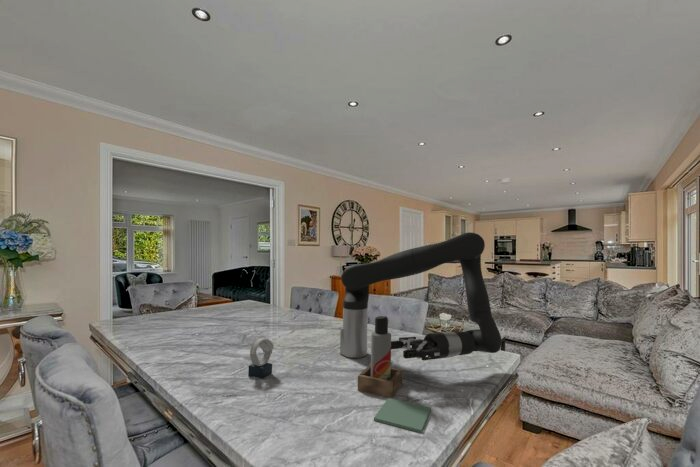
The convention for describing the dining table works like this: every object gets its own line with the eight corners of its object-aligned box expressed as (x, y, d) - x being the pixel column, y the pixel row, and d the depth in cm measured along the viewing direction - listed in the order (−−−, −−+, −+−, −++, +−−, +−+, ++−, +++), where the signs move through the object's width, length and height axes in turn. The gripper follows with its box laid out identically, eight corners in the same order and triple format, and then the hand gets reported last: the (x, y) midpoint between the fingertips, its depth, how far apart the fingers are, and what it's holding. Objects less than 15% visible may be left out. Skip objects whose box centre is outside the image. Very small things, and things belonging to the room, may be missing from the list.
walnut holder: (357, 390, 89) (357, 375, 89) (370, 377, 98) (370, 364, 98) (392, 398, 85) (392, 382, 85) (402, 383, 94) (402, 369, 94)
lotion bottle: (389, 392, 88) (390, 319, 89) (369, 390, 89) (370, 317, 90) (391, 383, 94) (392, 315, 94) (372, 381, 95) (373, 313, 95)
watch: (275, 371, 101) (276, 336, 101) (259, 381, 93) (260, 343, 94) (261, 368, 103) (262, 334, 104) (244, 377, 96) (245, 340, 96)
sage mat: (373, 420, 74) (373, 417, 74) (388, 400, 84) (388, 397, 84) (421, 432, 69) (421, 430, 69) (431, 409, 79) (431, 407, 79)
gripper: (429, 327, 106) (385, 330, 100) (458, 339, 93) (409, 343, 87) (429, 350, 106) (385, 354, 100) (457, 365, 92) (409, 371, 87)
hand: (396, 349), depth 93 cm, fingers open, 8 cm apart
